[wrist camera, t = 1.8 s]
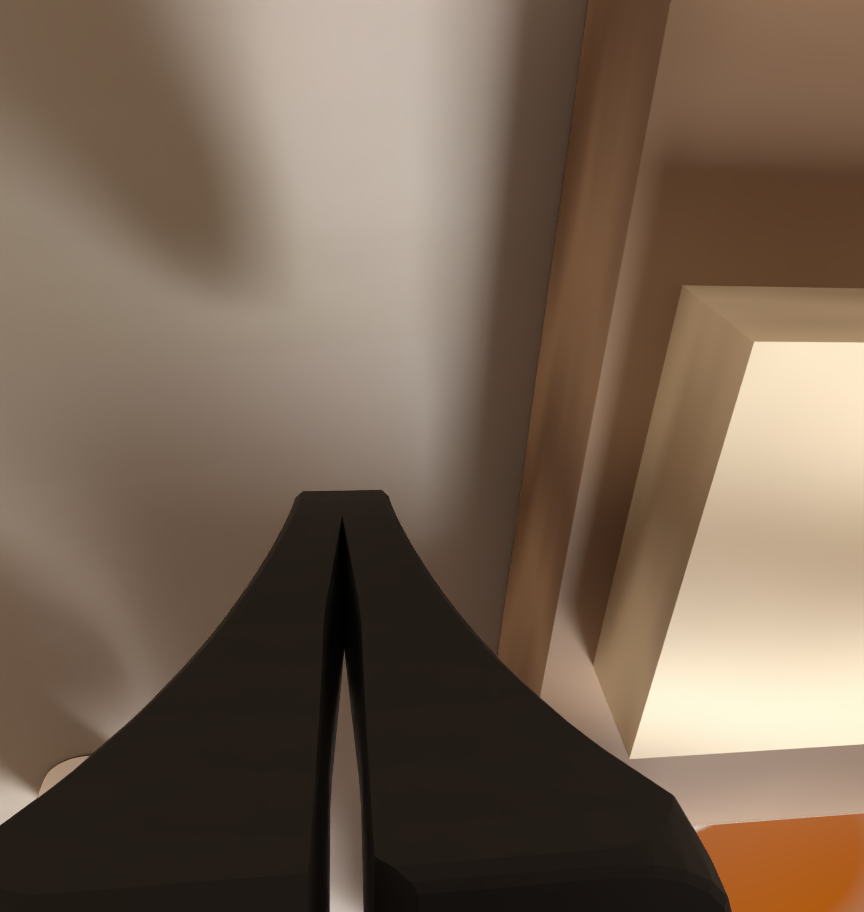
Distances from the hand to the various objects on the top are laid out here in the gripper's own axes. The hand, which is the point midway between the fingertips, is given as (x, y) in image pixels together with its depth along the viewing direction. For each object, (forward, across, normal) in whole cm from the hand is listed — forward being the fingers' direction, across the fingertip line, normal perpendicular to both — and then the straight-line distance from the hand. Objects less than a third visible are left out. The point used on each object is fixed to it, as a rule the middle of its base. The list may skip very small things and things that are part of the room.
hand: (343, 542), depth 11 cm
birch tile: (+1, -8, 0) cm, 8 cm away
